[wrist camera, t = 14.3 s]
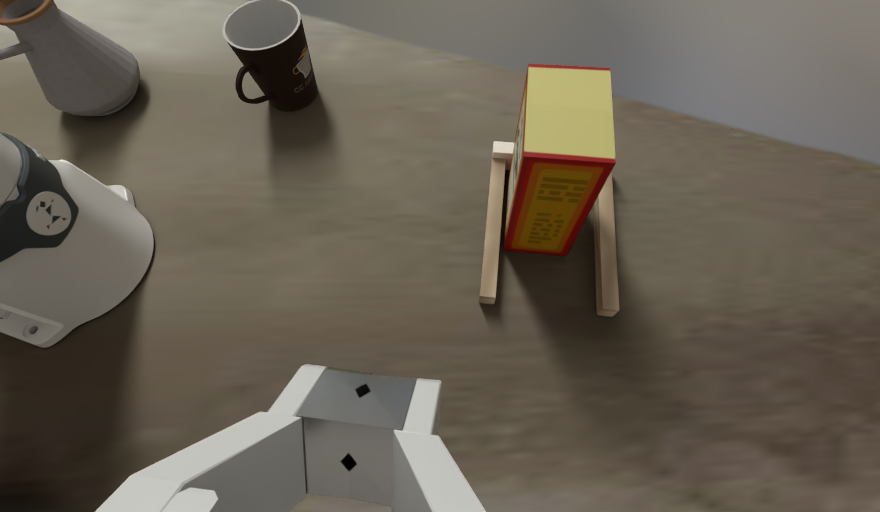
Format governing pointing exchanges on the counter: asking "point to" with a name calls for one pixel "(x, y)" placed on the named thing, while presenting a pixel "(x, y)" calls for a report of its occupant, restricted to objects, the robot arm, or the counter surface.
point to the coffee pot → (70, 59)
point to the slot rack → (602, 237)
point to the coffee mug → (272, 52)
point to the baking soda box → (558, 157)
